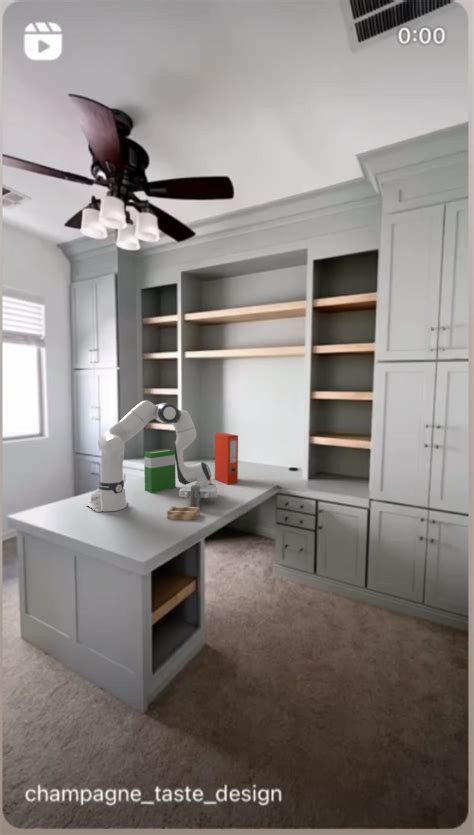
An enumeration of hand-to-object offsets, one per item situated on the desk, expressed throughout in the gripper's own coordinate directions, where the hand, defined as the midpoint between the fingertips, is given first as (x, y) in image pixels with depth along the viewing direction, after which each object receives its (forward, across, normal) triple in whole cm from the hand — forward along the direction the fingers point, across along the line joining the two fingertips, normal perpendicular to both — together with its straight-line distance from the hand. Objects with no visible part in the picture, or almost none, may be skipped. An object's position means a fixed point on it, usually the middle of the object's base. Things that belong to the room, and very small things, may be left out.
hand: (195, 496), depth 193 cm
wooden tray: (+12, -3, +6) cm, 14 cm away
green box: (-36, -30, +7) cm, 47 cm away
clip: (0, 0, +6) cm, 6 cm away
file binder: (-60, +8, +6) cm, 61 cm away
